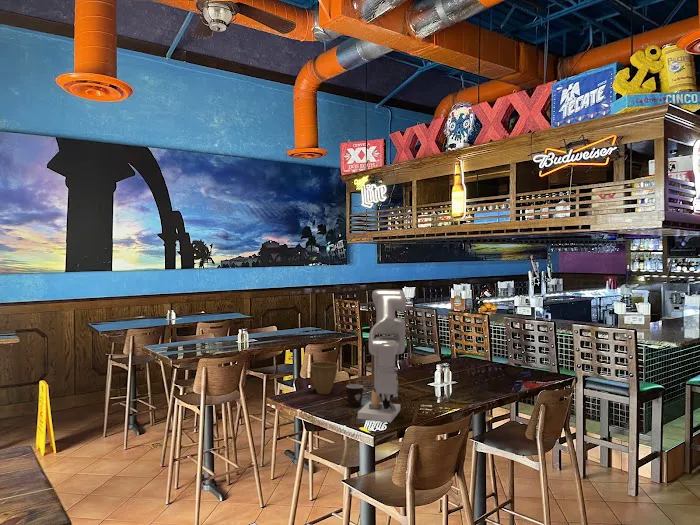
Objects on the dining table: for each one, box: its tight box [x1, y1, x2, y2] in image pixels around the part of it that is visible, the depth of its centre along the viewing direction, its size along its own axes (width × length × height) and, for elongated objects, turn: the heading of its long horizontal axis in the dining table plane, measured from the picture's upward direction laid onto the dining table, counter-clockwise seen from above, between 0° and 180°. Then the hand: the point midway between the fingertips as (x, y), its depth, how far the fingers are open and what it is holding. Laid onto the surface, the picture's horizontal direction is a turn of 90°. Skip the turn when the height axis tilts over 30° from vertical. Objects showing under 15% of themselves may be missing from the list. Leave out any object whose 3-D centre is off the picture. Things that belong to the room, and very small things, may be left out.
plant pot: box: [310, 361, 339, 395], centre depth 291 cm, size 15×15×16 cm
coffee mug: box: [339, 383, 364, 409], centre depth 267 cm, size 12×9×10 cm
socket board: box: [357, 400, 401, 423], centre depth 253 cm, size 20×16×3 cm
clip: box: [386, 396, 396, 412], centre depth 252 cm, size 19×2×3 cm, turn 8°
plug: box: [369, 387, 382, 410], centre depth 253 cm, size 6×6×12 cm
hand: (386, 408), depth 247 cm, fingers closed
